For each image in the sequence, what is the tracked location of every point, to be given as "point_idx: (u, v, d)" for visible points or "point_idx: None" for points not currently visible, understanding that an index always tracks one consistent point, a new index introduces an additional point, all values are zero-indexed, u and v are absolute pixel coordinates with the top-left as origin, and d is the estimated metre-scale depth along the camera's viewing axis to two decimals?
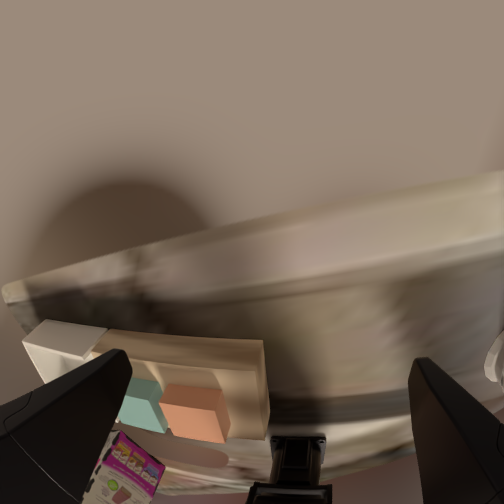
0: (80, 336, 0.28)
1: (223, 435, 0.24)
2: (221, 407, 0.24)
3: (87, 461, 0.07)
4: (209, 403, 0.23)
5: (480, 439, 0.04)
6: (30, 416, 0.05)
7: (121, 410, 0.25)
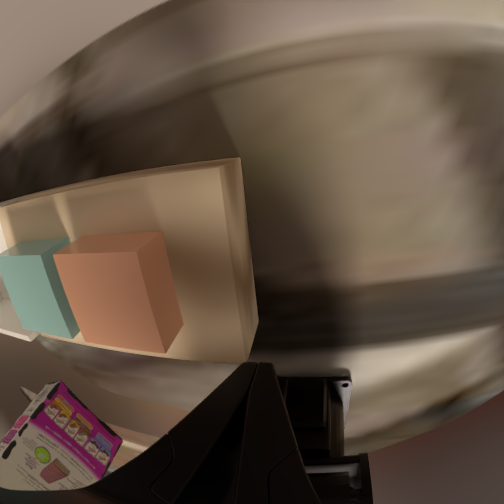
0: None
1: (161, 331, 0.13)
2: (157, 262, 0.13)
3: (228, 501, 0.06)
4: (131, 245, 0.12)
5: (262, 459, 0.05)
6: (189, 472, 0.04)
7: (17, 297, 0.14)
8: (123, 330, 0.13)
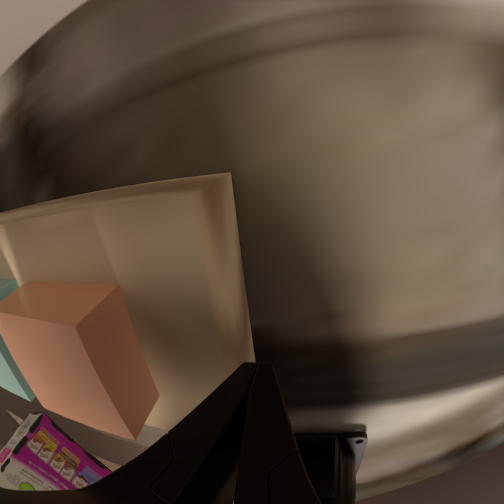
0: None
1: (126, 417, 0.09)
2: (112, 331, 0.09)
3: (228, 501, 0.06)
4: (73, 311, 0.08)
5: (262, 459, 0.05)
6: (189, 472, 0.04)
7: None
8: (81, 408, 0.09)
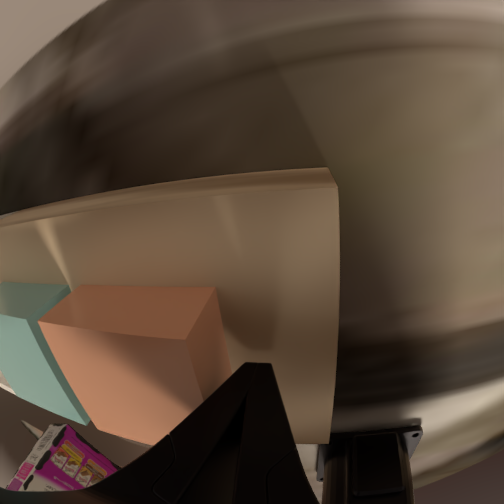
0: None
1: None
2: (211, 341, 0.08)
3: (229, 501, 0.06)
4: (171, 320, 0.07)
5: (261, 459, 0.05)
6: (191, 473, 0.04)
7: (3, 361, 0.09)
8: (157, 430, 0.08)
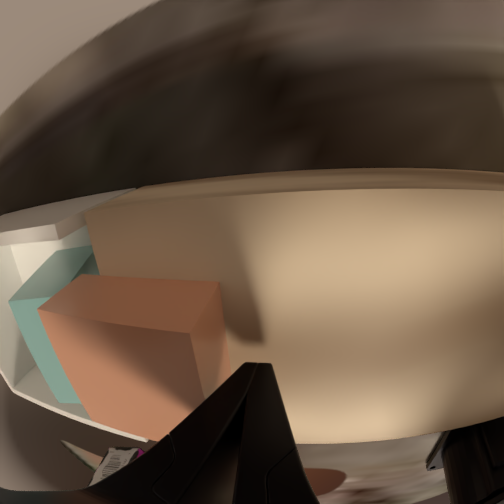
0: (63, 206, 0.11)
1: None
2: (213, 336, 0.08)
3: (229, 501, 0.06)
4: (175, 313, 0.07)
5: (261, 459, 0.05)
6: (191, 473, 0.04)
7: None
8: (154, 423, 0.08)
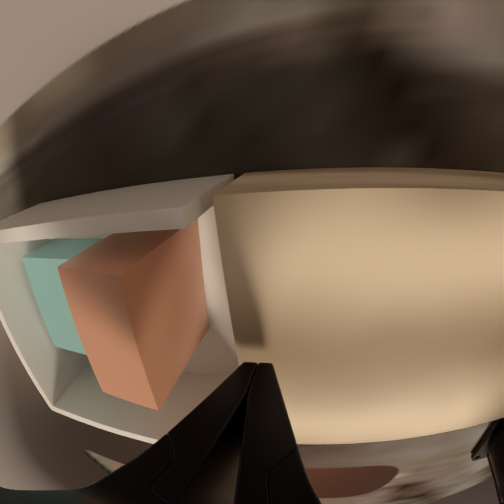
0: (148, 191, 0.10)
1: (97, 371, 0.09)
2: (98, 307, 0.08)
3: (228, 501, 0.06)
4: (86, 260, 0.08)
5: (263, 459, 0.05)
6: (189, 472, 0.04)
7: None
8: None
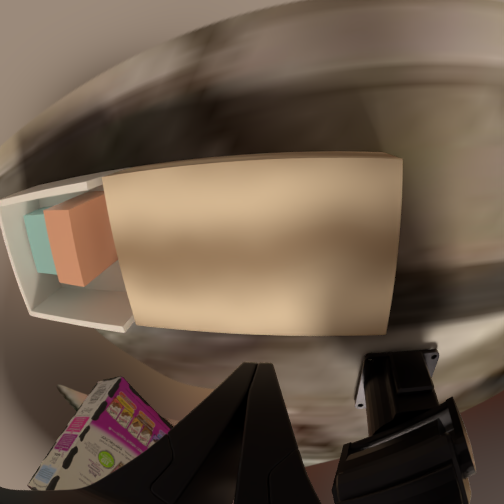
0: (86, 177, 0.18)
1: (57, 267, 0.17)
2: (59, 227, 0.16)
3: (228, 501, 0.06)
4: (56, 207, 0.16)
5: (263, 459, 0.05)
6: (189, 472, 0.04)
7: None
8: None
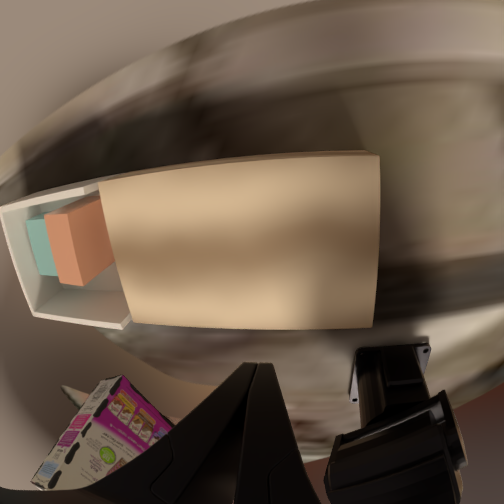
0: (83, 182, 0.19)
1: (58, 268, 0.18)
2: (59, 230, 0.17)
3: (228, 501, 0.06)
4: (56, 211, 0.17)
5: (263, 459, 0.05)
6: (189, 472, 0.04)
7: None
8: None
